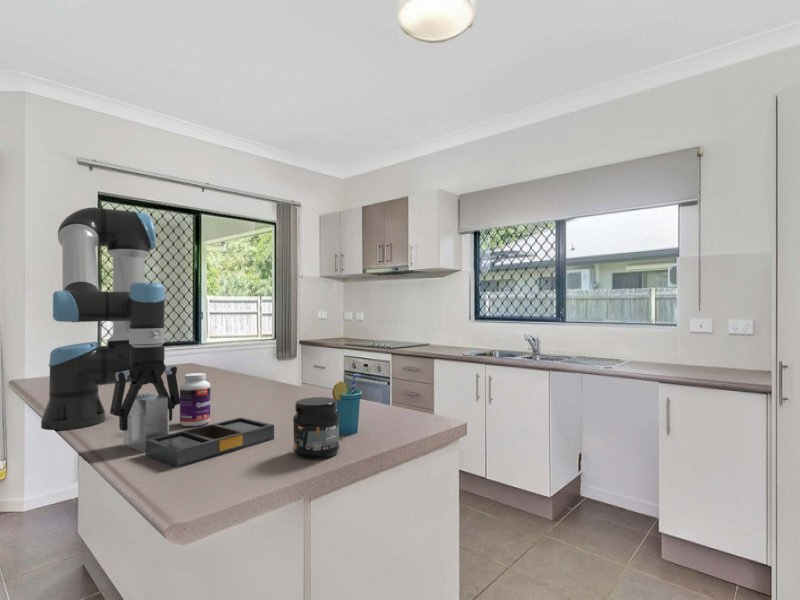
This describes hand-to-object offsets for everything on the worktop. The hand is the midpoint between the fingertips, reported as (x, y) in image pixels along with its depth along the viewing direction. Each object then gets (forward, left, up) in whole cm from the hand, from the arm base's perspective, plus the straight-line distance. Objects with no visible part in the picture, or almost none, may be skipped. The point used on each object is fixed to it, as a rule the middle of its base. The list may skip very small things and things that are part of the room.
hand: (146, 438), depth 108 cm
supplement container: (+38, +20, -2) cm, 43 cm away
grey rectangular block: (0, 0, -2) cm, 2 cm away
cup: (+32, +38, -2) cm, 50 cm away
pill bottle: (-10, +18, -2) cm, 21 cm away
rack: (+14, +9, -2) cm, 17 cm away
